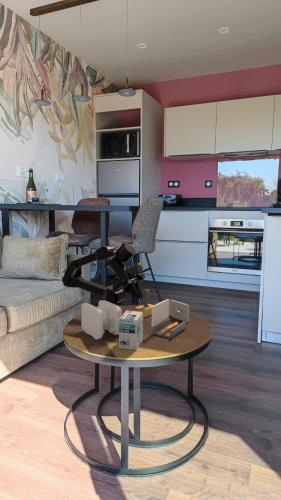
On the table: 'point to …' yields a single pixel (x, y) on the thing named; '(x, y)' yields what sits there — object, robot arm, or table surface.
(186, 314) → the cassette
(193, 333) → the table surface
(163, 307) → the white rectangular panel
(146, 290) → the rubber stamp
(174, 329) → the cable duct
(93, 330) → the cable organizer
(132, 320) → the light bulb box
